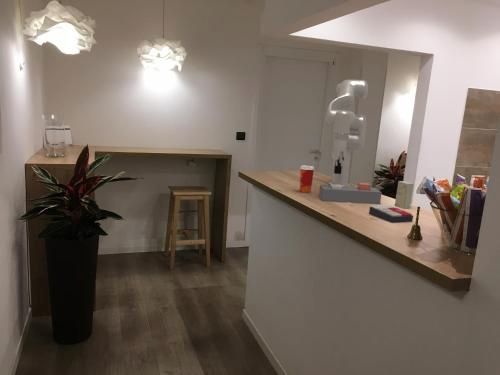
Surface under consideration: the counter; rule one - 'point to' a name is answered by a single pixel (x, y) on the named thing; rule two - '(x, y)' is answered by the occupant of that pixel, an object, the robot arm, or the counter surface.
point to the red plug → (364, 186)
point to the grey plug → (335, 186)
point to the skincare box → (404, 194)
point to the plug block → (349, 195)
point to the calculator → (390, 214)
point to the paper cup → (306, 178)
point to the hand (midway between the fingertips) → (337, 173)
